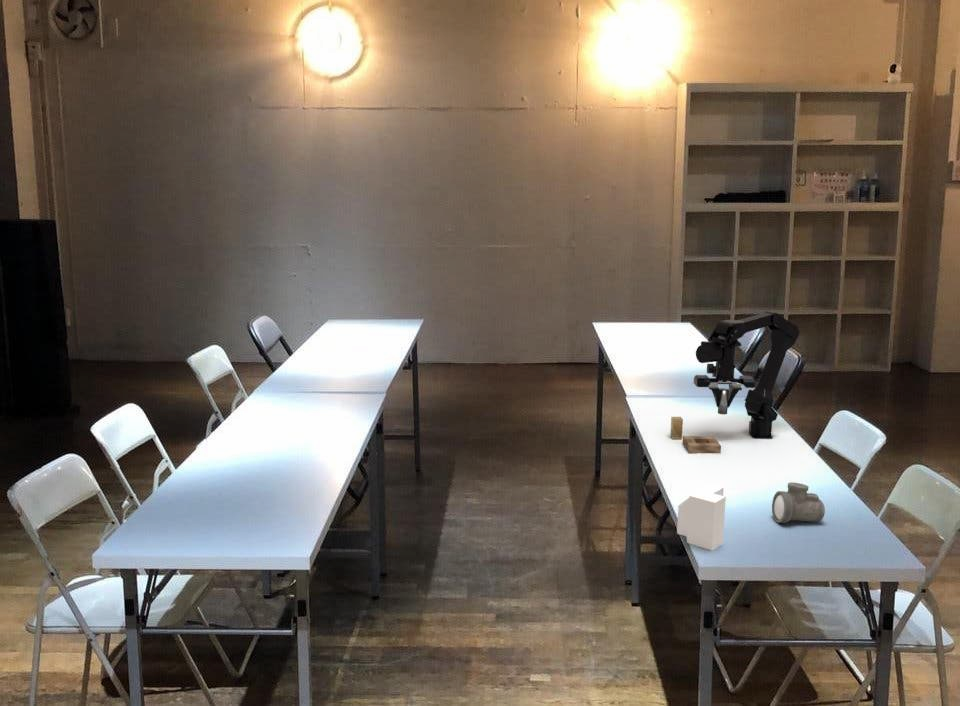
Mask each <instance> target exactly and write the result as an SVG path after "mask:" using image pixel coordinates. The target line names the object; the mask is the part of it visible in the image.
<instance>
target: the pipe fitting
mask: <svg viewBox="0 0 960 706" xmlns="http://www.w3.org/2000/svg"><path fill="white" fill-rule="evenodd" d="M809 488H810V487H809V486H808V485H806V484H803V483H799V482H791V481H790V482H787V491H785V490H784V491H783V490H778V491H776V492H775V494H774V496H773V498H772V503H771V513H772V517H773V520H774V522H776V523H777V524H787V523H789V522H790V521H791V520H792V521H800V522H801V521H802V522H811V523H820V522H821V521H822V520H823V519H824V517H825V514H826V509H825V505H824V502H823V501H822V500H821V499H819V498H820V497H819V495H818V494H817V493H813V492H809Z"/></svg>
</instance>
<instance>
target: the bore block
mask: <svg viewBox="0 0 960 706" xmlns="http://www.w3.org/2000/svg"><path fill="white" fill-rule="evenodd" d="M682 445H683V447H684V448H685V450H686V452H687V453H688V454H697V453H722V445H721V444H720V443H719V441H718V440H717V438H716V437H715V436H706V435H705V436H703V435H702V436H699V435H698V436H697V435H696V436H695V435H693V436H690V435H689V436H688V435H682Z"/></svg>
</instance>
